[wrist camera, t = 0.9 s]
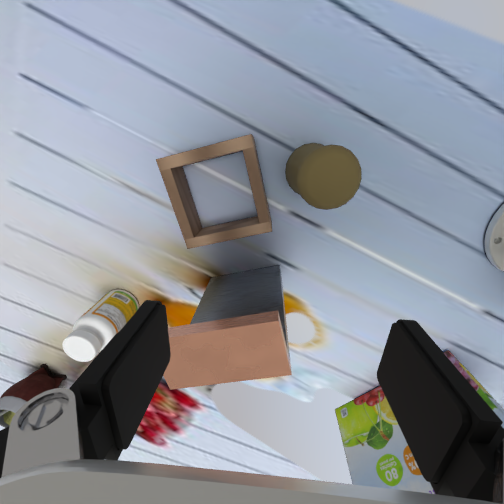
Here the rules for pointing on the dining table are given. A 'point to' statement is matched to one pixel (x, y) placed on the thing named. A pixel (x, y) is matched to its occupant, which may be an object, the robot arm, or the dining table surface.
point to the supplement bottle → (100, 325)
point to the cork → (323, 174)
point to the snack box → (388, 439)
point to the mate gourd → (26, 392)
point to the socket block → (185, 204)
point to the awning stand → (232, 332)
